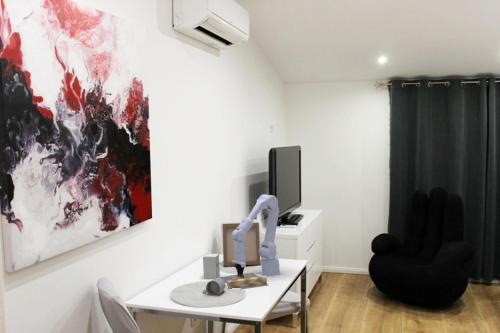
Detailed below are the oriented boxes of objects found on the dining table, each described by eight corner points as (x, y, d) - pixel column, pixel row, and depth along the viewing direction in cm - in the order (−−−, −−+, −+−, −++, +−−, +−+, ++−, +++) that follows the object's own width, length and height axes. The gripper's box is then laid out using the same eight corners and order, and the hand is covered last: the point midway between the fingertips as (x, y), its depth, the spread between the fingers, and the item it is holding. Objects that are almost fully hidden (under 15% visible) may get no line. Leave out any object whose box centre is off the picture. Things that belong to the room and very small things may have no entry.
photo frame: (260, 266, 282) (258, 224, 281) (223, 267, 283) (221, 225, 281) (260, 259, 296) (258, 220, 295) (225, 261, 297) (224, 221, 296)
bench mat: (253, 273, 266) (253, 272, 266) (268, 286, 241) (268, 285, 241) (218, 278, 260) (218, 277, 260) (230, 291, 235) (230, 290, 235)
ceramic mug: (226, 291, 235) (225, 276, 235) (220, 297, 228) (219, 281, 227) (207, 290, 239) (206, 275, 238) (200, 296, 231) (199, 280, 231)
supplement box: (216, 280, 257) (215, 256, 256) (203, 279, 258) (202, 256, 257) (220, 276, 264) (219, 253, 263) (207, 275, 265) (206, 253, 265)
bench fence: (263, 281, 249) (263, 273, 248) (266, 284, 243) (266, 276, 243) (226, 286, 243) (226, 278, 242) (229, 289, 238) (228, 281, 237)
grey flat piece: (251, 278, 255) (251, 272, 255) (256, 282, 247) (255, 276, 247) (229, 281, 251) (229, 275, 251) (233, 285, 244) (233, 279, 244)
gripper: (228, 250, 259) (229, 274, 259) (235, 255, 245) (236, 282, 246) (241, 248, 261) (242, 273, 261) (248, 254, 247) (249, 280, 248)
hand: (240, 277), depth 254 cm, fingers closed, pressing on grey flat piece
